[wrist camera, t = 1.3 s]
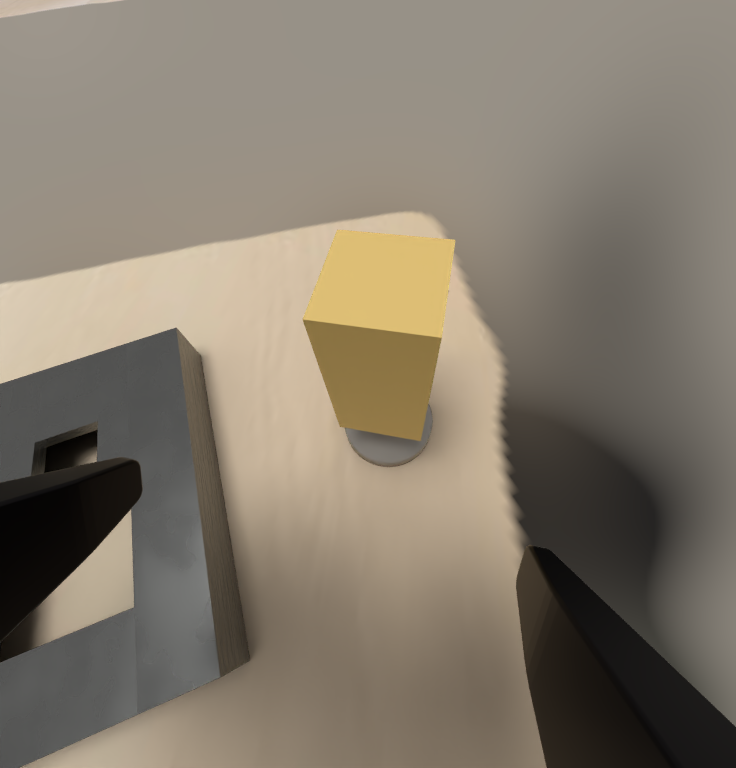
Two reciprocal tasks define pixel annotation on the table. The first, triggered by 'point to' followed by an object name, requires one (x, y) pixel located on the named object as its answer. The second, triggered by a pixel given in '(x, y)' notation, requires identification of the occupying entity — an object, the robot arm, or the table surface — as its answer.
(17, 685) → the keyhole plate
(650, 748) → the robot arm
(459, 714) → the table surface
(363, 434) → the mustard peg
